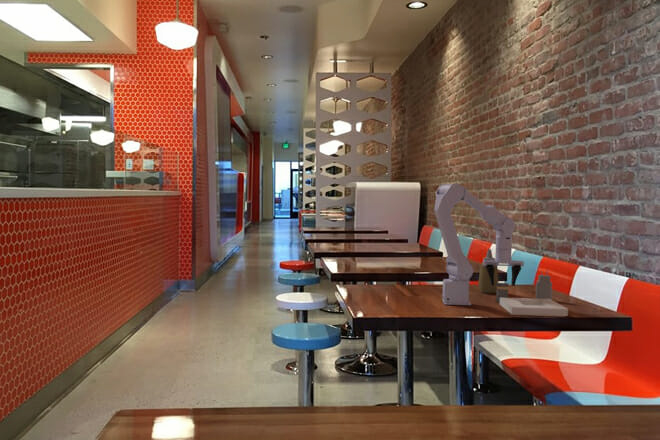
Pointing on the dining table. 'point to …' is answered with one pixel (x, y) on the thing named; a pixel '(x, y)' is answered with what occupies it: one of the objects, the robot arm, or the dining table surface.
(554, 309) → the board
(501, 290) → the grey spice jar
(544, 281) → the power adapter
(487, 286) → the squeeze bottle
